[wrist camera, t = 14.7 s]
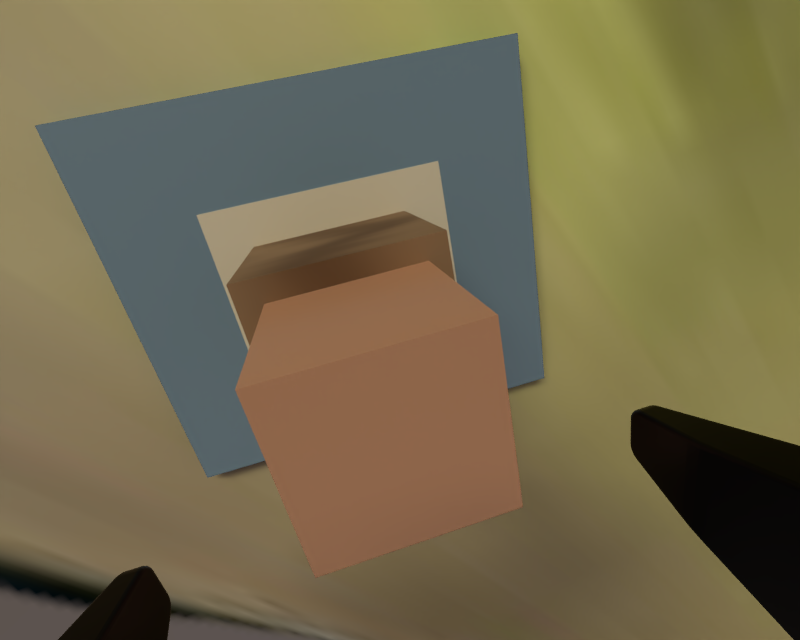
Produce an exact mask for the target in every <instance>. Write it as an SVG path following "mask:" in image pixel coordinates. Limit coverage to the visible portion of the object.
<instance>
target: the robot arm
mask: <svg viewBox="0 0 800 640" xmlns="http://www.w3.org/2000/svg"><path fill="white" fill-rule="evenodd" d="M631 448H632V451H633V454H634V455H635V457H636V459H637V460H638V461H639V462H640V464H641V465H642V466H643V468H644V469H645V470H646V471H647V473H648V474H649V475H650V477H651V478H652V479H653V481H654V482H655V483H656V484H657V486H658V487H659V488H660V490H661V491H662V492H663V493H664V495H665V496H666V497H667V499H668V500H669V501H670V502H671V504H672V505H673V506H674V508H675V509H676V510H677V511H678V513H679V514H680V515H681V517H682V518H683V519H684V520H685V521H686V523H687V524H688V525H689V526H690V528H691V529H692V530H693V531H694V532H695V533H696V534H697V536H698V537H699V538H700V539H701V540H702V541H703V542H704V543H705V544H706V545H707V547H708V548H709V549H710V550H711V551H712V552H713V553H714V554H715V555H716V556H717V557H718V558H719V560H720V561H721V562H722V563H723V564H724V565H725V566H726V567H727V568H728V569H729V570H730V571H731V572H732V574H733V575H734V576H735V577H736V578H737V579H738V580H739V581H740V582H741V583H742V584H743V585H744V587H745V588H746V589H747V590H748V591H749V592H750V593H751V594H752V595H753V596H754V597H755V598H756V599H757V601H758V602H759V603H760V604H761V605H762V606H763V607H764V608H765V609H766V610H767V611H768V612H769V613H770V615H771V616H772V617H773V618H774V619H775V620H776V621H777V622H778V623H779V624H780V625H781V626H782V628H783V629H784V630H785V631H786V632H787V633H788V634H789V635H790V636H791V637H792V638H793V639H794V640H800V446H798V445H795V444H791V443H788V442H784V441H781V440H777V439H773V438H770V437H766V436H763V435H759V434H756V433H752V432H748V431H745V430H741V429H738V428H734V427H731V426H727V425H723V424H720V423H716V422H713V421H709V420H706V419H702V418H699V417H695V416H691V415H688V414H684V413H681V412H677V411H674V410H670V409H666V408H663V407H659V406H654V405H652V406H648V407H644V408H641V409H638V410H635V411H634V412H633V413H632V415H631ZM170 615H171V602H170V598H169V595H168V593H167V592H166V590H165V589H164V587H163V586H162V584H161V582H160V581H159V579H158V578H157V576H156V574H155V573H154V571H153V570H152V569H151V568H150V567H148V566H141V567H138V568H135V569H132V570H129V571H125V572H123V573H121V574H120V575H118V576H117V577H116V578H115V579H114V580H113V581H112V582H111V583H110V584H109V586H108V587H107V588H106V589H105V590H104V591H103V592H102V593H101V594H100V595H99V596H98V597H97V598H96V599H95V601H94V602H93V603H92V604H91V605H90V606H89V607H88V608H87V609H86V610H85V611H84V612H83V613H82V614H81V616H80V617H79V618H78V619H77V620H76V621H75V622H74V623H73V624H72V626H71V627H69V628H68V630H67V631H66V632H65V633H64V634H63V635H62V636H61V637H60V638H59V639H58V640H167V637H168V630H169V622H170Z"/></svg>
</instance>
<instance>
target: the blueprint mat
mask: <svg viewBox="0 0 800 640" xmlns="http://www.w3.org/2000/svg"><path fill="white" fill-rule="evenodd" d="M35 127H36V129H37V131H38V133H39V135H40V137H41V139H42V141H43V143H44V145H45V147H46V149H47V151H48V153H49V155H50V157H51V159H52V161H53V163H54V166H55V168H56V170H57V172H58V174H59V176H60V178H61V180H62V182H63V184H64V186H65V188H66V190H67V192H68V194H69V196H70V198H71V200H72V202H73V204H74V206H75V208H76V210H77V212H78V214H79V216H80V219H81V221H82V223H83V225H84V227H85V229H86V231H87V233H88V235H89V237H90V239H91V241H92V243H93V245H94V247H95V249H96V251H97V253H98V255H99V257H100V259H101V261H102V263H103V265H104V267H105V269H106V272H107V274H108V276H109V278H110V280H111V282H112V284H113V286H114V288H115V290H116V292H117V294H118V296H119V298H120V300H121V302H122V304H123V306H124V308H125V310H126V312H127V314H128V316H129V318H130V320H131V322H132V324H133V327H134V329H135V331H136V333H137V335H138V337H139V339H140V341H141V343H142V345H143V347H144V349H145V351H146V353H147V355H148V357H149V359H150V361H151V363H152V365H153V367H154V369H155V371H156V373H157V375H158V377H159V380H160V382H161V384H162V386H163V388H164V390H165V392H166V394H167V396H168V398H169V400H170V402H171V404H172V406H173V408H174V410H175V412H176V414H177V416H178V418H179V420H180V422H181V424H182V426H183V428H184V430H185V433H186V435H187V437H188V439H189V441H190V443H191V445H192V447H193V449H194V451H195V453H196V455H197V457H198V459H199V461H200V463H201V465H202V467H203V469H204V471H205V473H206V475H207V477H212V476H215V475H218V474H222V473H225V472H228V471H232V470H235V469H239V468H242V467H245V466H249V465H252V464H255V463H259V462H262V461H265V459H264V456H263V454H262V452H261V449H260V447H259V445H258V442H257V440H256V438H255V435H254V433H253V431H252V428H251V426H250V424H249V421H248V419H247V417H246V414H245V412H244V410H243V407H242V405H241V403H240V400H239V398H238V396H237V393H236V391H235V388H236V385H237V382H238V379H239V377H240V374H241V371H242V368H243V365H244V362H245V359H246V356H247V353H248V350H249V347H250V346H249V343H248V340H247V338H246V335H245V333H244V330H243V327H242V325H241V322H240V320H239V317H238V314H237V312H236V309H235V307H234V304H233V301H232V299H231V296H230V294H229V291H228V288H227V286H226V285H227V283H228V282H229V280H230V279H231V278H232V276H233V275H234V273H235V272H236V271H237V269H238V268H239V267H240V265H241V264H242V262H243V261H244V260H245V258H246V257H247V256H248V254H249V253H250V251H251V250H252V249H253V247H256V246H260V245H264V244H268V243H273V242H277V241H281V240H285V239H289V238H293V237H298V236H302V235H306V234H310V233H314V232H318V231H323V230H327V229H331V228H335V227H339V226H343V225H347V224H352V223H356V222H360V221H364V220H368V219H372V218H377V217H381V216H385V215H389V214H393V213H397V212H402V211H406V212H408V213H410V214H413V215H415V216H417V217H419V218H421V219H423V220H426V221H428V222H430V223H432V224H434V225H437V226H439V227H441V228H443V229H445V230H447V235H448V241H449V247H450V254H451V260H452V266H453V272H454V279H455V281H456V282H457V283H458V284H459V285H461V286H462V287H463V288H464V289H466V290H467V291H468V292H470V293H471V294H472V295H473V296H475V297H476V298H477V299H479V300H480V301H481V302H482V303H484V304H485V305H486V306H487V307H489V308H490V309H491V310H493V311H494V312H495V313H496V314H498V317H499V325H500V333H501V341H502V348H503V356H504V364H505V371H506V379H507V387H508V388H512V387H515V386H519V385H522V384H525V383H529V382H532V381H535V380H539V379H542V378H544V368H543V355H542V343H541V330H540V317H539V304H538V291H537V278H536V265H535V252H534V240H533V227H532V214H531V201H530V188H529V175H528V162H527V149H526V137H525V124H524V111H523V98H522V85H521V72H520V59H519V46H518V34H517V33H515V34H510V35H505V36H500V37H494V38H489V39H484V40H479V41H474V42H468V43H463V44H458V45H453V46H448V47H442V48H437V49H432V50H427V51H421V52H416V53H411V54H406V55H401V56H395V57H390V58H385V59H380V60H375V61H369V62H364V63H359V64H354V65H349V66H343V67H338V68H333V69H328V70H323V71H317V72H312V73H307V74H302V75H297V76H291V77H286V78H281V79H276V80H270V81H265V82H260V83H255V84H250V85H244V86H239V87H234V88H229V89H224V90H218V91H213V92H208V93H203V94H198V95H192V96H187V97H182V98H177V99H172V100H166V101H161V102H156V103H151V104H145V105H140V106H135V107H130V108H125V109H119V110H114V111H109V112H104V113H99V114H93V115H88V116H83V117H78V118H73V119H67V120H62V121H57V122H52V123H47V124H41V125H36V126H35Z"/></svg>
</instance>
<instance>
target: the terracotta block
mask: <svg viewBox="0 0 800 640" xmlns="http://www.w3.org/2000/svg"><path fill="white" fill-rule="evenodd" d="M235 391H236V393H237V396H238V398H239V400H240V403H241V405H242V407H243V410H244V412H245V414H246V417H247V419H248V421H249V424H250V426H251V428H252V431H253V433H254V435H255V438H256V440H257V442H258V445H259V447H260V449H261V452H262V454H263V456H264V459H265V461H266V463H267V466H268V468H269V470H270V473H271V475H272V477H273V480H274V482H275V484H276V487H277V489H278V491H279V494H280V496H281V498H282V501H283V503H284V505H285V508H286V510H287V512H288V515H289V517H290V519H291V522H292V524H293V526H294V529H295V531H296V533H297V536H298V538H299V540H300V543H301V545H302V547H303V550H304V552H305V554H306V557H307V559H308V561H309V564H310V566H311V569H312V571H313V573H314V576H315V578H317V577H320V576H323V575H326V574H329V573H331V572H334V571H337V570H340V569H343V568H346V567H349V566H352V565H355V564H358V563H361V562H364V561H367V560H370V559H372V558H375V557H378V556H381V555H384V554H387V553H390V552H393V551H396V550H399V549H402V548H405V547H408V546H411V545H413V544H416V543H419V542H422V541H425V540H428V539H431V538H434V537H437V536H440V535H443V534H446V533H449V532H452V531H454V530H457V529H460V528H463V527H466V526H469V525H472V524H475V523H478V522H481V521H484V520H487V519H490V518H493V517H495V516H498V515H501V514H504V513H507V512H510V511H513V510H516V509H519V508H522V507H523V502H522V494H521V487H520V479H519V471H518V464H517V456H516V448H515V441H514V433H513V425H512V417H511V410H510V402H509V394H508V387H507V379H506V371H505V364H504V356H503V348H502V341H501V333H500V325H499V317H498V314H496V313H495V312H494V311H493V310H491V309H490V308H489V307H487V306H486V305H485V304H484V303H482V302H481V301H480V300H479V299H477V298H476V297H475V296H473V295H472V294H471V293H470V292H468V291H467V290H466V289H464V288H463V287H462V286H461V285H459V284H458V283H457V282H456V281H454V280H453V279H452V278H450V277H449V276H448V275H447V274H445V273H444V272H443V271H441V270H440V269H439V268H438V267H436V266H435V265H434V264H433V263H431V262H430V261H426V262H422V263H418V264H414V265H410V266H407V267H403V268H399V269H395V270H392V271H388V272H384V273H380V274H376V275H373V276H369V277H365V278H361V279H357V280H354V281H350V282H346V283H342V284H338V285H335V286H331V287H327V288H323V289H319V290H316V291H312V292H308V293H304V294H301V295H297V296H293V297H289V298H285V299H282V300H278V301H274V302H270V303H266V304H264V306H263V309H262V312H261V315H260V318H259V321H258V324H257V327H256V330H255V333H254V336H253V338H252V341H251V344H250V347H249V350H248V353H247V356H246V359H245V362H244V365H243V368H242V371H241V374H240V377H239V379H238V382H237V385H236V388H235Z"/></svg>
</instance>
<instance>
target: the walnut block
mask: <svg viewBox="0 0 800 640" xmlns="http://www.w3.org/2000/svg"><path fill="white" fill-rule="evenodd" d="M426 261H430V262H431V263H433V264H434V265H435V266H436V267H438V268H439V269H440V270H441V271H443V272H444V273H445V274H447V275H448V276H449V277H450V278H452V279H453V280H454V281H455V279H454V272H453V266H452V260H451V254H450V247H449V241H448V235H447V230H445V229H443V228H441V227H439V226H437V225H434V224H432V223H430V222H428V221H426V220H423V219H421V218H419V217H417V216H415V215H413V214H410V213H408V212H406V211H402V212H397V213H393V214H389V215H385V216H381V217H377V218H372V219H368V220H364V221H360V222H356V223H352V224H347V225H343V226H339V227H335V228H331V229H327V230H323V231H318V232H314V233H310V234H306V235H302V236H298V237H293V238H289V239H285V240H281V241H277V242H273V243H268V244H264V245H260V246H256V247H253V249H252V250H251V251H250V253H249V254H248V256H247V257H246V258H245V260H244V261H243V262H242V264H241V265H240V267H239V268H238V269H237V271H236V272H235V273H234V275H233V276H232V278H231V279H230V280H229V282H228V283H227V285H226V286H227V288H228V291H229V294H230V296H231V299H232V301H233V304H234V307H235V309H236V312H237V314H238V317H239V320H240V322H241V325H242V327H243V330H244V333H245V335H246V338H247V340H248V343H249V346H250V344H251V341H252V338H253V336H254V333H255V330H256V327H257V324H258V321H259V318H260V315H261V312H262V309H263V306H264V304H266V303H270V302H274V301H278V300H282V299H285V298H289V297H293V296H297V295H301V294H304V293H308V292H312V291H316V290H319V289H323V288H327V287H331V286H335V285H338V284H342V283H346V282H350V281H354V280H357V279H361V278H365V277H369V276H373V275H376V274H380V273H384V272H388V271H392V270H395V269H399V268H403V267H407V266H410V265H414V264H418V263H422V262H426Z"/></svg>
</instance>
